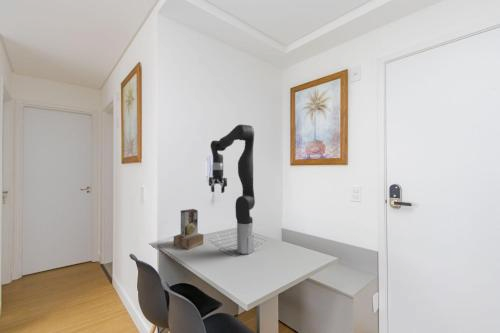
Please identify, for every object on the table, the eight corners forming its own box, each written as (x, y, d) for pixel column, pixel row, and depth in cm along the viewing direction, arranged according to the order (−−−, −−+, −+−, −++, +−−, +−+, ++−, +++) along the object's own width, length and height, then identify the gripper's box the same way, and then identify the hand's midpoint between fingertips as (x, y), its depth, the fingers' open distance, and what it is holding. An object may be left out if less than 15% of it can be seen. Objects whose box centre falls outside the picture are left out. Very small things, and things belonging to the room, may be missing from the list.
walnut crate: (203, 243, 155) (203, 234, 155) (188, 249, 144) (188, 239, 144) (188, 240, 162) (188, 231, 162) (173, 245, 151) (173, 236, 151)
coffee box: (193, 233, 158) (193, 208, 158) (197, 235, 153) (198, 210, 153) (180, 235, 152) (180, 210, 152) (184, 237, 147) (184, 211, 147)
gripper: (229, 169, 167) (229, 192, 167) (213, 169, 174) (213, 191, 174) (222, 169, 161) (222, 193, 161) (206, 169, 168) (206, 192, 168)
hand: (217, 192), depth 167 cm, fingers open, 8 cm apart
